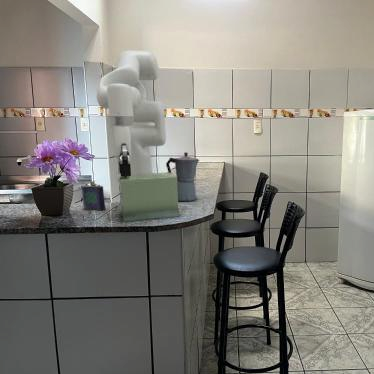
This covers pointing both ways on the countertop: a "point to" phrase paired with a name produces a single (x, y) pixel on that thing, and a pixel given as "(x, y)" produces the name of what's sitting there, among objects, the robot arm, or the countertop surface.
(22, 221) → the countertop surface
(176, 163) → the moka pot
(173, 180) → the box
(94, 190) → the flask
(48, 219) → the countertop surface
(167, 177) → the breadbox lid
